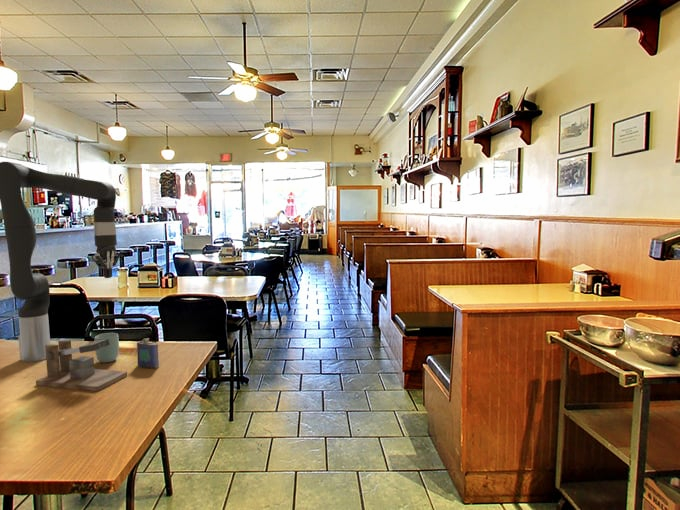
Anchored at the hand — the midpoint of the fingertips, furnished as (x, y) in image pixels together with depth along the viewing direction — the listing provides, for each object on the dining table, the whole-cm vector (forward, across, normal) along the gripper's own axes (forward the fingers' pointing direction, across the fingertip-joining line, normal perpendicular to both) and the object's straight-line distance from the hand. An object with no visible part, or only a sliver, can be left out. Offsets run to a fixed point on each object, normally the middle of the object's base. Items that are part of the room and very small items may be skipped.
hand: (108, 277), depth 165 cm
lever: (+21, +25, +9) cm, 34 cm away
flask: (+31, +9, +23) cm, 40 cm away
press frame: (+31, +25, +10) cm, 41 cm away
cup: (+31, +7, +4) cm, 32 cm away
